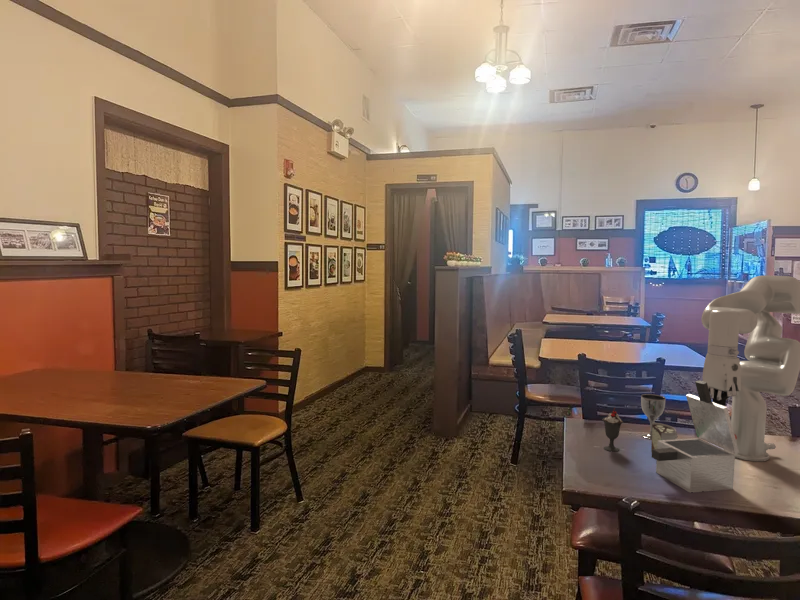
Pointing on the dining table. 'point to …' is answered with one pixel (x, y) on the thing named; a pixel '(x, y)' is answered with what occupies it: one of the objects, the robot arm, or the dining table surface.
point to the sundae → (612, 429)
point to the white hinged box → (694, 464)
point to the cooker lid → (711, 419)
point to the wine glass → (652, 409)
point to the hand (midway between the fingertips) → (718, 412)
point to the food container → (662, 433)
